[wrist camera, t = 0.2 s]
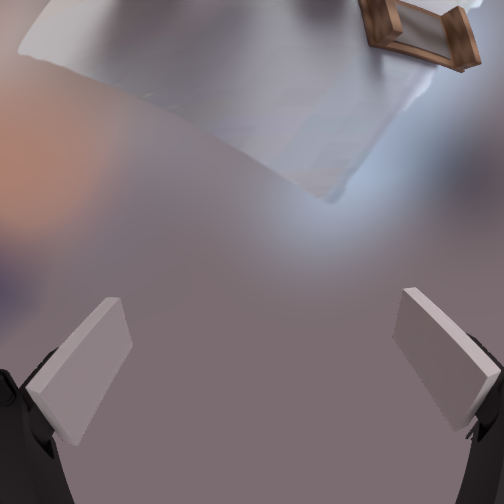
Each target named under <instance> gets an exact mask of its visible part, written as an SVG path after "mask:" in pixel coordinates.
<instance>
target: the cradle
mask: <svg viewBox="0 0 504 504" xmlns="http://www.w3.org/2000/svg"><path fill="white" fill-rule="evenodd" d="M359 4H360V8H361V12H362V16H363V20H364V25H365V29H366V34H367V39H368V44H369V46H372V47H377V48H381V49H386V50H390V51H395V52H399V53H402V54H406V55H410V56H413V57H417V58H420V59H423V60H427V61H430V62H433V63H436V64H438V65H441V66H444V67H447V68H450V69H452V70H455V71H457V72H460V73H463V72H464V69H467V68H470V67H474V66H477V65H480V64H481V59H480V56H479V52H478V48H477V45H476V41H475V38H474V35H473V32H472V29H471V27H470V24H469V21H468V18H467V16H466V13H465V10H464V9H463V8H461V7H459V6H456V7H455V8H453V9H451V10H450V11H448V12H447V13H445V14H444V15H442V16H440V15H437V14H435V13H433V12H430V11H428V10H425V9H422V8H420V7H417V6H414V5H412V4H409V3H406V2H403V1H400V0H359Z"/></svg>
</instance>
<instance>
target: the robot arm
mask: <svg viewBox="0 0 504 504" xmlns="http://www.w3.org/2000/svg"><path fill="white" fill-rule="evenodd" d="M392 338H393V340H394V341H395V342H396V344H397V345H398V347H399V348H400V350H401V351H402V352H403V354H404V355H405V357H406V358H407V360H408V361H409V363H410V364H411V366H412V367H413V369H414V370H415V372H416V373H417V375H418V376H419V378H420V379H421V381H422V382H423V384H424V385H425V387H426V388H427V390H428V391H429V393H430V395H431V396H432V398H433V399H434V401H435V403H436V404H437V406H438V407H439V409H440V411H441V412H442V414H443V416H444V417H445V419H446V421H447V422H448V424H449V426H450V427H451V429H452V431H453V432H455V431H457V430H459V429H461V428H464V427H466V426H467V425H468V424H469V423H470V421H471V420H472V418H473V417H474V416H475V415H476V417H477V418H478V421H477V422H476V424H475V425H474V426H473V428H472V429H471V430H470V432H469V433H468V434H467V436H466V439H468V438H469V437H470V436H471V434H472V433H473V437H472V438H471V440H472V444H471V449H470V454H469V458H468V462H467V467H466V471H465V474H464V478H463V481H462V485H461V488H460V491H459V494H458V498H457V500H456V503H455V504H504V367H503V366H502V365H501V364H500V363H499V362H498V361H497V360H496V358H495V357H494V356H493V355H492V354H491V353H489V352H488V351H487V349H486V348H485V347H484V346H483V347H482V344H481V343H480V342H479V341H478V340H477V339H476V338H474V337H472V336H471V335H469V334H467V333H464V332H463V331H462V330H461V329H460V328H459V327H458V326H457V325H456V324H455V323H454V322H453V321H452V320H451V319H450V318H449V317H448V316H447V315H446V314H445V313H443V312H442V311H441V310H440V309H439V308H438V307H437V306H436V305H435V304H433V303H432V302H431V301H430V300H429V299H428V298H427V297H426V296H424V295H423V294H422V293H421V292H420V291H419V290H418V289H416V288H405V289H403V290H402V295H401V300H400V305H399V310H398V314H397V319H396V323H395V327H394V332H393V335H392ZM132 347H133V344H132V340H131V337H130V334H129V330H128V326H127V323H126V319H125V315H124V311H123V307H122V303H121V300H120V298H116V297H106V298H105V299H104V300H103V302H102V303H101V304H100V305H99V306H98V307H97V308H96V309H95V310H94V311H93V312H92V313H91V314H90V315H89V316H88V317H87V318H86V319H85V320H84V321H83V322H82V323H81V324H80V325H79V327H78V328H77V329H76V330H75V331H74V332H73V333H72V334H71V335H70V336H69V337H68V339H66V341H65V342H64V343H63V344H62V345H61V346H60V347H58V348H56V349H55V350H53V351H52V352H50V353H49V354H48V355H47V356H46V357H45V358H44V360H43V362H41V363H40V364H39V365H38V367H37V369H35V370H34V371H33V372H32V373H31V375H30V376H29V377H28V378H27V379H26V381H25V382H24V383H23V384H22V385H21V387H20V388H19V389H18V387H17V386H16V384H15V382H14V380H13V379H12V377H11V375H10V373H9V372H8V371H7V370H4V369H0V504H75V503H74V501H73V498H72V495H71V493H70V490H69V487H68V484H67V481H66V478H65V475H64V472H63V469H62V465H61V462H60V459H59V455H58V451H57V447H56V443H55V441H54V438H53V437H52V434H53V432H54V431H55V432H56V433H57V434H58V436H59V437H60V438H61V440H62V441H65V442H68V443H70V444H73V445H75V446H78V445H79V442H80V441H81V439H82V437H83V435H84V433H85V431H86V429H87V427H88V425H89V423H90V421H91V419H92V417H93V416H94V414H95V412H96V410H97V408H98V406H99V405H100V403H101V401H102V399H103V397H104V395H105V393H106V392H107V390H108V388H109V386H110V385H111V383H112V381H113V379H114V378H115V376H116V374H117V372H118V370H119V369H120V367H121V365H122V364H123V362H124V360H125V359H126V357H127V355H128V354H129V352H130V350H131V349H132Z"/></svg>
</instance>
